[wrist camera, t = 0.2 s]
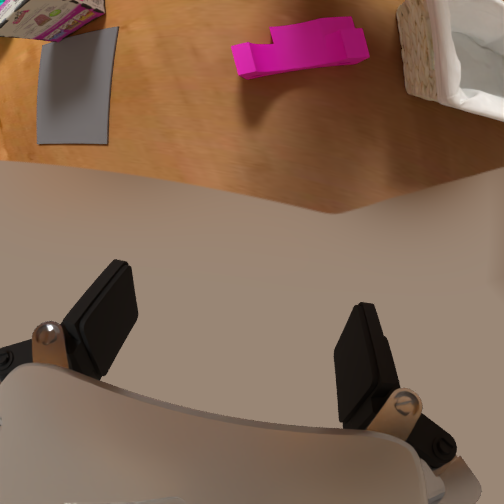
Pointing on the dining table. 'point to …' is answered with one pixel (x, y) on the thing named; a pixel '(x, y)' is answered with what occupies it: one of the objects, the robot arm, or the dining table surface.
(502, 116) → the storage basket
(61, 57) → the mat
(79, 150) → the dining table surface
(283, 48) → the toy block
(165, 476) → the robot arm
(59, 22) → the candy bar box
